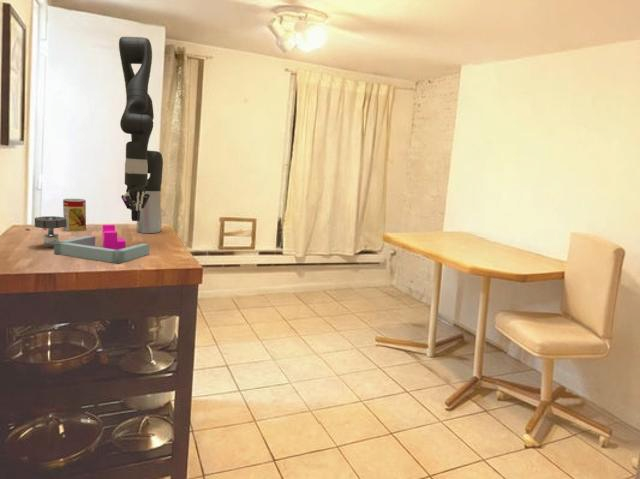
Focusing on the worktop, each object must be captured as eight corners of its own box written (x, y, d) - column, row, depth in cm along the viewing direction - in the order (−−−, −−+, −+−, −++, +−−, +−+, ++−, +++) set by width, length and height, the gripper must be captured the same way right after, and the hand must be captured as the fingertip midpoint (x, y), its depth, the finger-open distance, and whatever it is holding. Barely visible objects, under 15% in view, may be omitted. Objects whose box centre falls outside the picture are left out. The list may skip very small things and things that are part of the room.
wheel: (50, 222, 161) (50, 215, 161) (72, 225, 159) (72, 218, 158) (28, 226, 152) (27, 218, 152) (50, 229, 150) (50, 221, 150)
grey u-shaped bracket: (88, 245, 163) (88, 235, 162) (149, 254, 157) (149, 244, 156) (54, 253, 148) (53, 242, 148) (119, 263, 142) (119, 252, 142)
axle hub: (51, 244, 160) (50, 217, 158) (61, 246, 158) (61, 218, 157) (40, 246, 155) (39, 218, 154) (51, 248, 154) (50, 220, 153)
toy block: (125, 254, 155) (125, 232, 153) (104, 255, 152) (104, 232, 151) (122, 245, 168) (122, 224, 166) (102, 245, 165) (102, 224, 164)
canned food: (90, 230, 189) (89, 200, 186) (70, 232, 182) (70, 201, 180) (78, 227, 193) (78, 198, 191) (59, 228, 186) (59, 198, 184)
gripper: (139, 171, 172) (138, 218, 174) (114, 171, 159) (113, 221, 162) (157, 172, 170) (155, 220, 172) (133, 173, 157) (132, 224, 160)
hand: (135, 220), depth 167 cm, fingers closed
